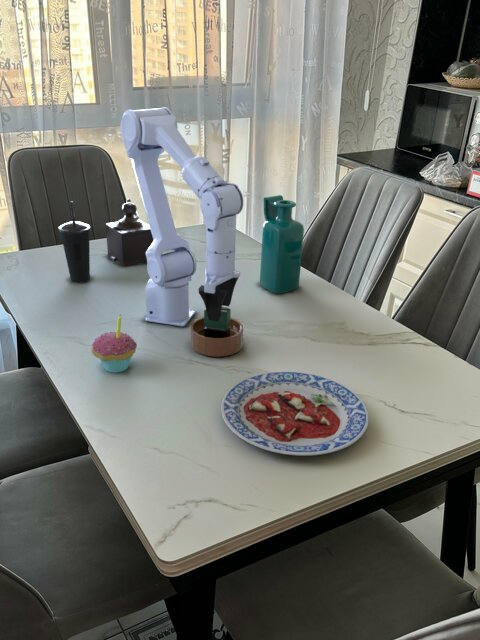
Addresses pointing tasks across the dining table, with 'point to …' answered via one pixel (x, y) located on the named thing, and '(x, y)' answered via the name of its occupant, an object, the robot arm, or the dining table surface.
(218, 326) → the green clip
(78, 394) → the dining table surface
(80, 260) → the drinking cup
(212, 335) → the black clip
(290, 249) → the teal green bottle
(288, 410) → the ceramic plate
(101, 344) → the cupcake
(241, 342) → the bowl
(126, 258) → the dark brown knobbed box
